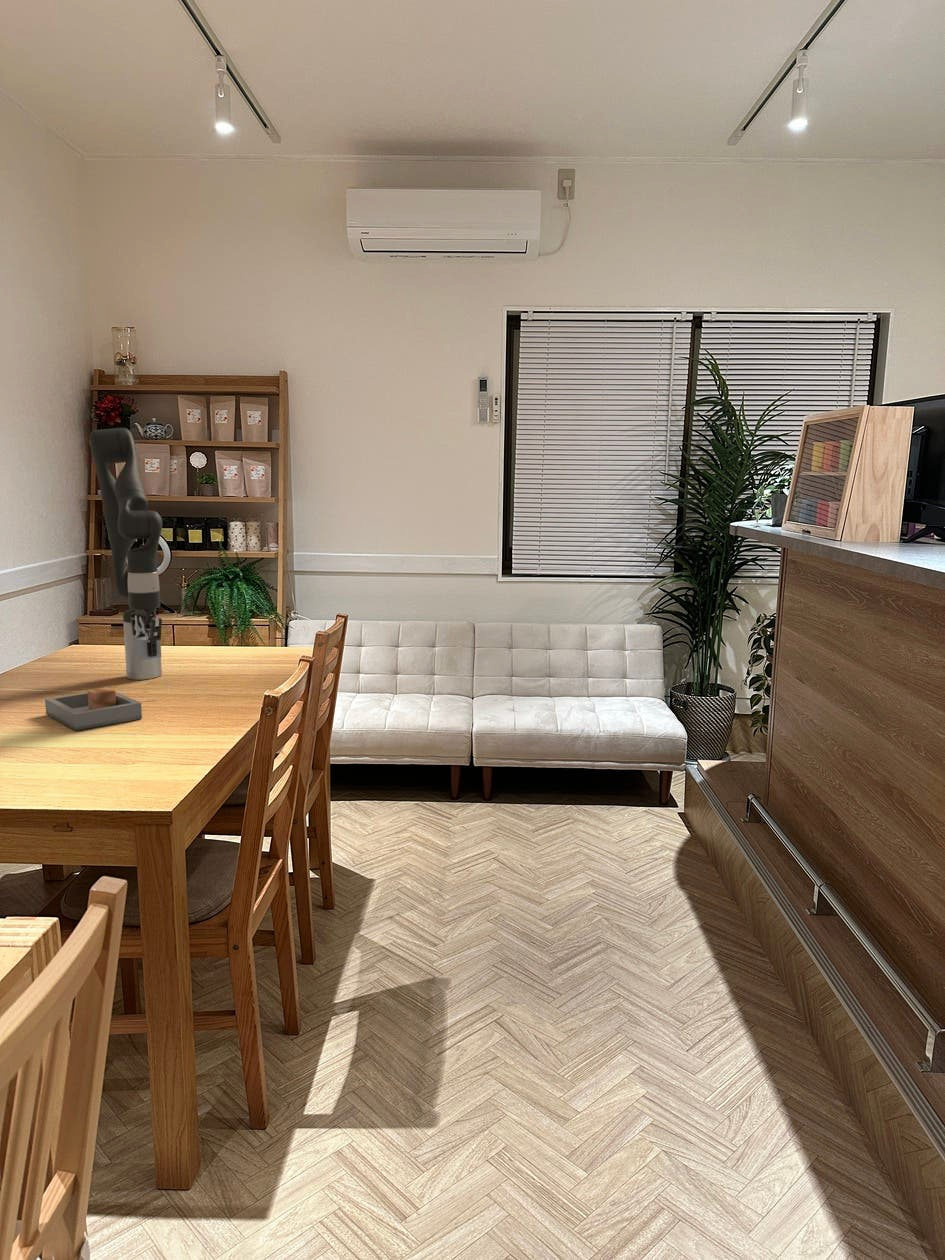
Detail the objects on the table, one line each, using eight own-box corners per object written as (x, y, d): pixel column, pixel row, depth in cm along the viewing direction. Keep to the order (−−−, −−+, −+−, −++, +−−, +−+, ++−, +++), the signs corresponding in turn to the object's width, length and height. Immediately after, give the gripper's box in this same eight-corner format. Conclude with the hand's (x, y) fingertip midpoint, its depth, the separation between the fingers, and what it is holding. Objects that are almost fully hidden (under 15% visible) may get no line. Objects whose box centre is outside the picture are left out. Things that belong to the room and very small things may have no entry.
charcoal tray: (109, 703, 227) (108, 688, 227) (142, 718, 213) (141, 702, 213) (46, 714, 216) (44, 698, 216) (75, 730, 202) (74, 714, 202)
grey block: (152, 654, 225) (151, 635, 224) (161, 657, 222) (160, 638, 221) (134, 656, 222) (133, 637, 221) (142, 660, 218) (141, 640, 217)
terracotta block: (108, 705, 222) (107, 687, 221) (116, 709, 218) (115, 690, 217) (88, 709, 218) (87, 690, 217) (96, 713, 215) (95, 693, 214)
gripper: (170, 591, 216) (174, 657, 219) (145, 585, 226) (149, 648, 229) (141, 593, 211) (145, 661, 214) (117, 587, 221) (121, 652, 224)
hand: (147, 654), depth 222 cm, fingers closed on grey block, 5 cm apart
